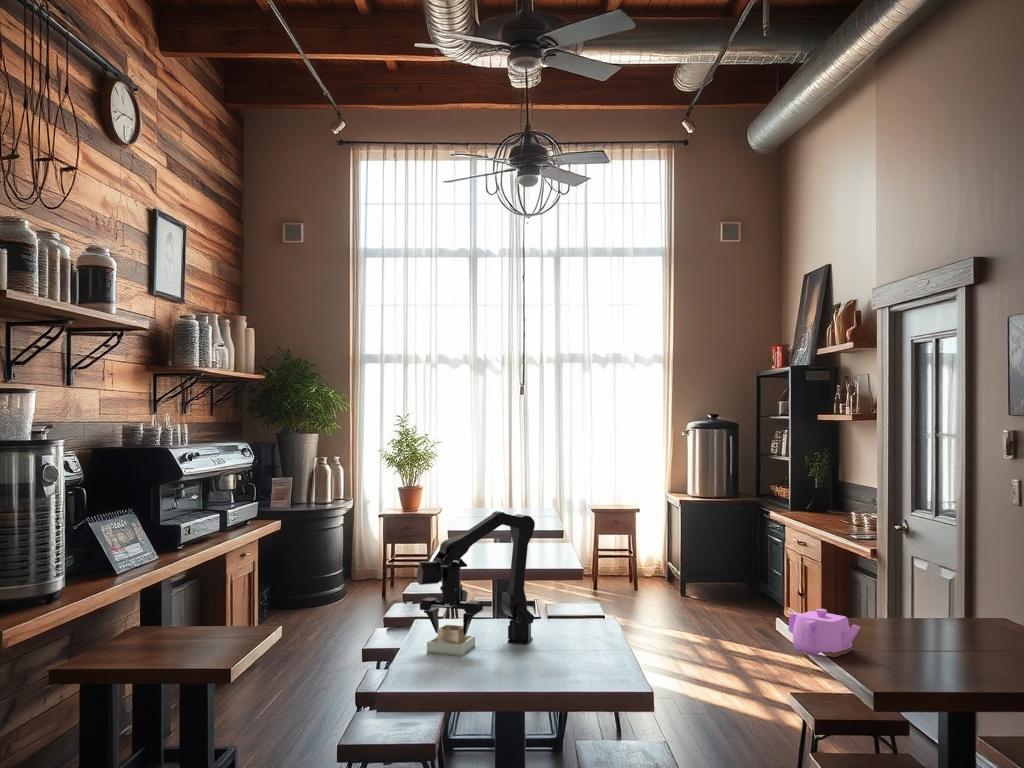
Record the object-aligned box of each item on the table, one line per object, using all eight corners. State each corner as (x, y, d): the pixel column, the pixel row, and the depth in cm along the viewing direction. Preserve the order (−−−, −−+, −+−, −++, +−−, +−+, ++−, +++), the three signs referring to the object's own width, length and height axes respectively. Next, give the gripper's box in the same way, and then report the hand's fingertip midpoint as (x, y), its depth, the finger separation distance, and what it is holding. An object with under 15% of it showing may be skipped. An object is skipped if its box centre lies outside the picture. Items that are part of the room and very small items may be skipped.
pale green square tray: (475, 646, 252) (475, 635, 252) (461, 656, 241) (461, 645, 242) (441, 643, 255) (441, 633, 256) (426, 652, 245) (427, 642, 245)
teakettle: (786, 643, 255) (785, 603, 256) (841, 643, 254) (840, 603, 255) (803, 658, 238) (802, 615, 239) (862, 659, 237) (861, 616, 238)
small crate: (465, 645, 251) (465, 625, 251) (457, 651, 244) (457, 630, 245) (445, 644, 253) (445, 624, 253) (437, 649, 246) (437, 629, 247)
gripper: (488, 579, 254) (488, 630, 253) (433, 576, 260) (433, 625, 259) (476, 585, 244) (476, 638, 243) (419, 582, 250) (418, 634, 249)
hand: (451, 634), depth 249 cm, fingers open, 9 cm apart
